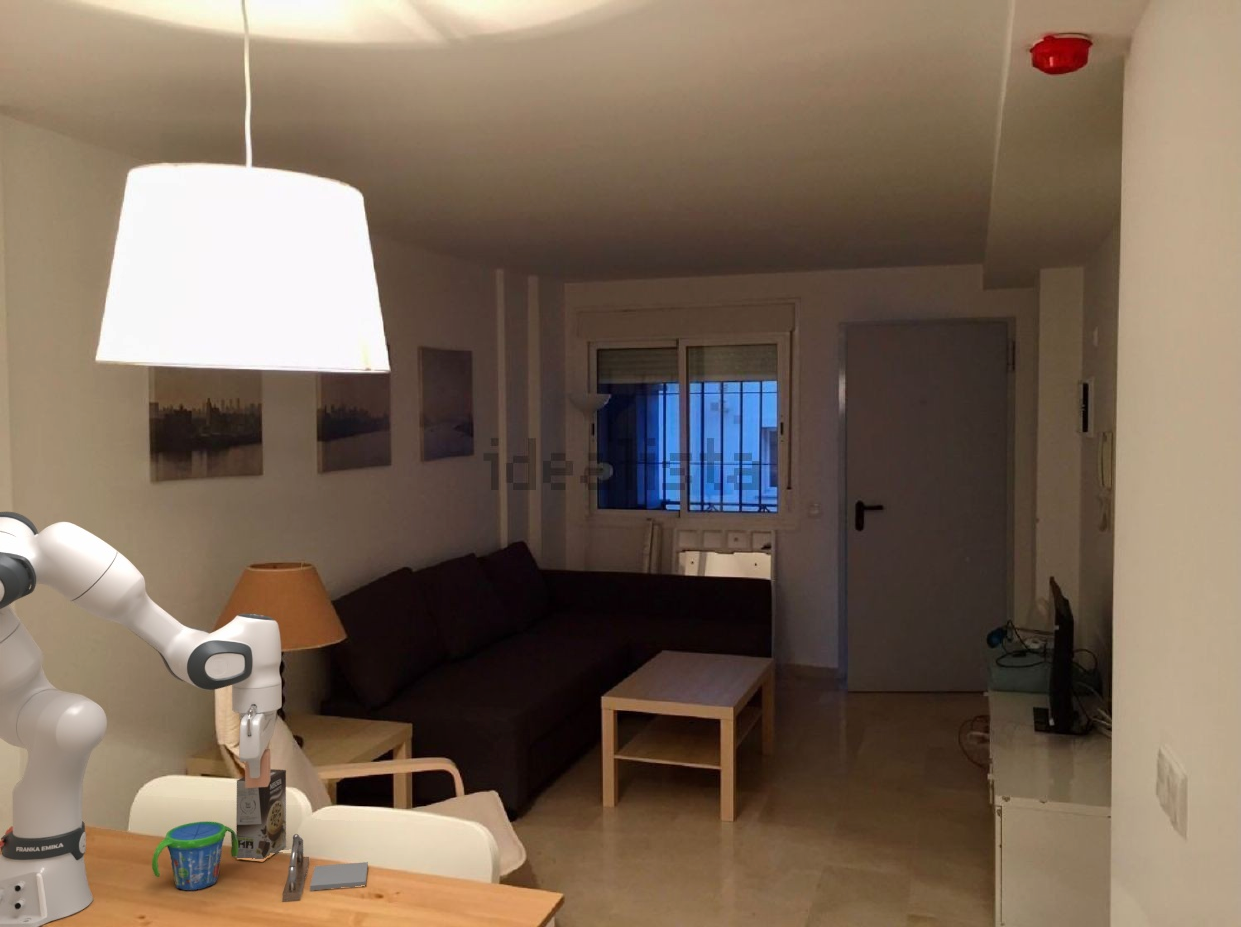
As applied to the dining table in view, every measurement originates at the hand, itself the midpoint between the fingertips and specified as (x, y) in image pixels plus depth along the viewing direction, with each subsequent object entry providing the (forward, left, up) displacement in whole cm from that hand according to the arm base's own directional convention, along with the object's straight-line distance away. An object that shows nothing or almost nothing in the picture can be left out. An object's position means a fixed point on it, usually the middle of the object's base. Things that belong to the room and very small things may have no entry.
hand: (257, 773), depth 202 cm
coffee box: (-2, +17, -21) cm, 27 cm away
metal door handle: (+7, 0, -21) cm, 22 cm away
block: (0, 0, -2) cm, 2 cm away
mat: (+15, 0, -21) cm, 26 cm away
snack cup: (-12, +3, -21) cm, 25 cm away
